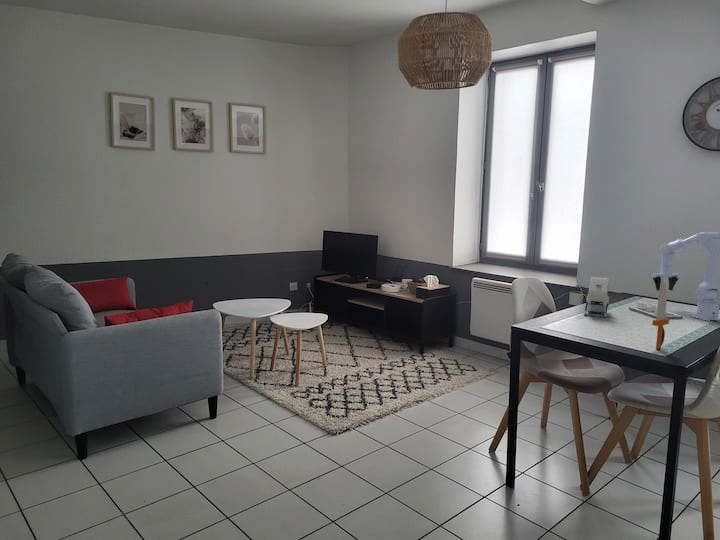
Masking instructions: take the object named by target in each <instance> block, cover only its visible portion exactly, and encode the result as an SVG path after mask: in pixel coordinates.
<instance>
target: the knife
mask: <svg viewBox="0 0 720 540" xmlns="http://www.w3.org/2000/svg"><path fill="white" fill-rule="evenodd" d="M660 278H661V283H660V290H659V291H658V297H657V299H658V300H657V304H658V308H657V319H656V318H655V319H653V320H652V324H651V325H652V326H655V327H657V330H656V331H657V332H656V333H657V335H656V342H655V343H656V344H655V350H656V349H661V350H662V345H664V342H665V335H666V334H665V328H664V326H665V325H668V324H670V319H666V318H665V312H666V310H667V288H666V284H665V280H664V279H663V278H664V277H660Z"/></svg>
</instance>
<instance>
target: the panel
mask: <svg viewBox="0 0 720 540" xmlns="http://www.w3.org/2000/svg"><path fill="white" fill-rule="evenodd" d="M628 310H630V311H631V312H635V313H638V314H641V315H644V316H647V317H650V318H653V319H655V320H656V319H657V314H655V312H654V311H651V306H646V309H639V308H637V306H633V307H631V306H630V307H628ZM665 318H666V319H669V320H681V319H682V318H683V319H684V316H683V315H679V314H676V313H674V312H671V311H666V312H665Z"/></svg>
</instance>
